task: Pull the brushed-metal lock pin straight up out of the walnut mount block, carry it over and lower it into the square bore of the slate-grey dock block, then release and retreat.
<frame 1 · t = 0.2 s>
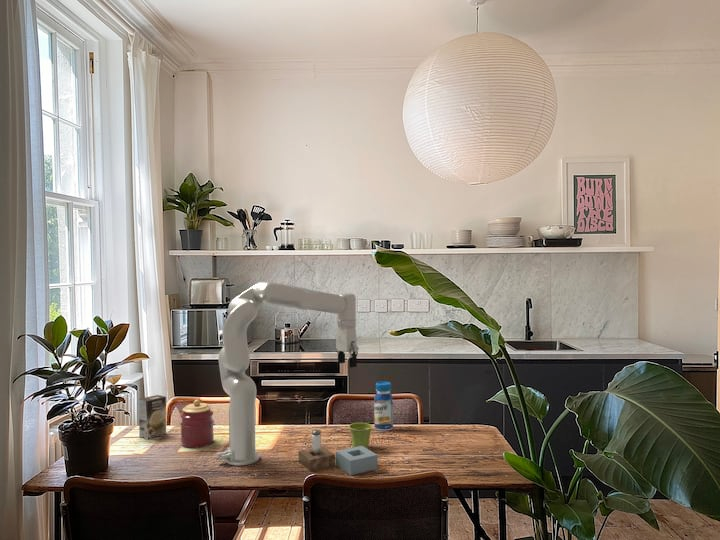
hand: (347, 364, 224), 31 cm above the table, fingers open, 9 cm apart
canister: (197, 443, 222), on the table
coffee box: (153, 435, 232), on the table
pin: (316, 447, 198), in the mount block
mount block: (316, 463, 198), on the table
plant pot: (360, 448, 214), on the table
dock block: (356, 466, 195), on the table
beverage bottle: (383, 428, 238), on the table
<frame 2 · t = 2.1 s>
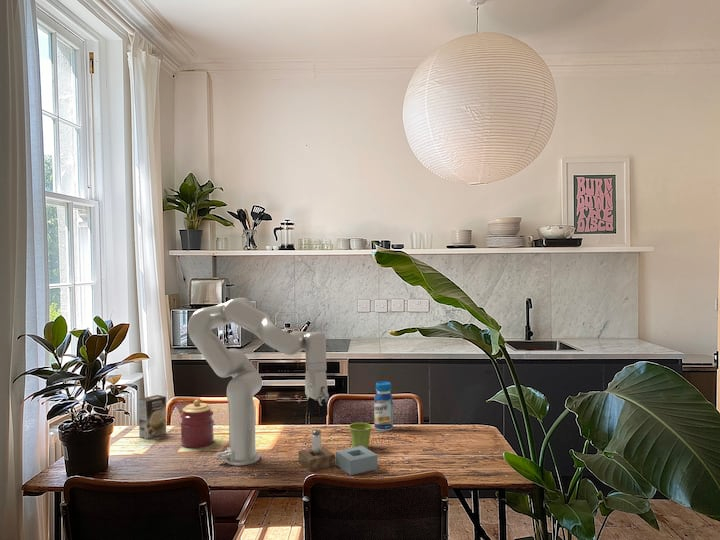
hand: (317, 413, 197), 19 cm above the table, fingers open, 9 cm apart
nothing on the table moved.
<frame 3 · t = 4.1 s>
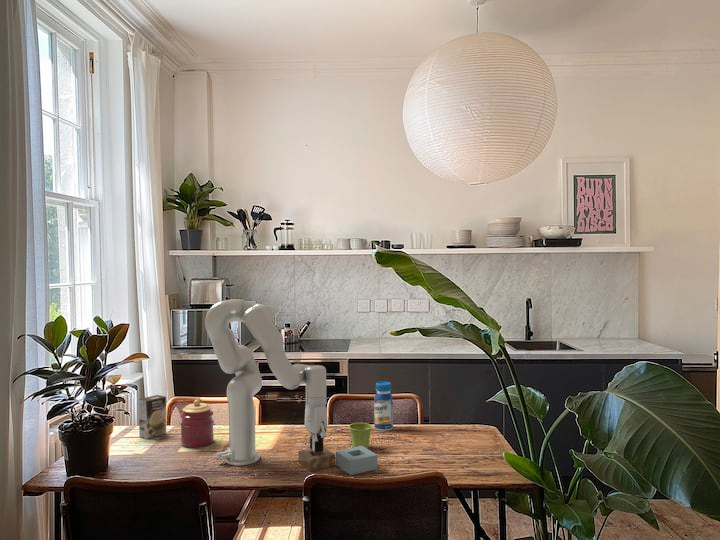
hand: (316, 449, 198), 5 cm above the table, fingers closed on pin, 3 cm apart
pin: (316, 447, 198), in the mount block, touching gripper
everything else where it was.
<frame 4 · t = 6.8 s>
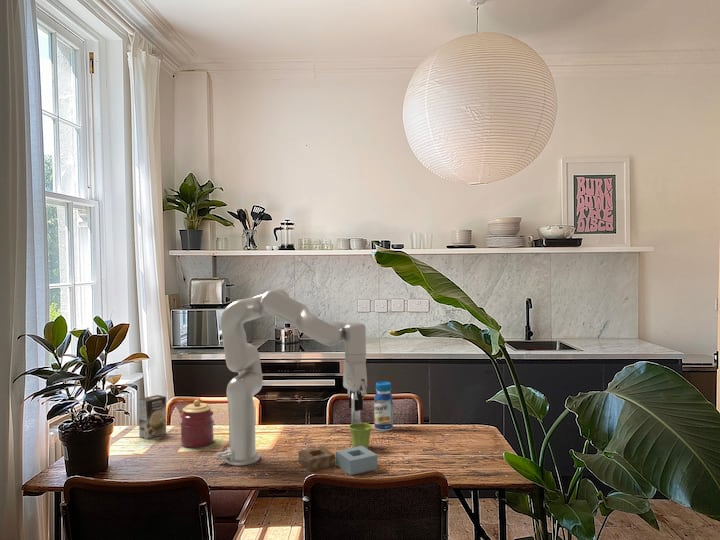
hand: (355, 408, 194), 21 cm above the table, fingers closed on pin, 3 cm apart
pin: (355, 406, 194), point 22 cm above the table, touching gripper
everything else where it was.
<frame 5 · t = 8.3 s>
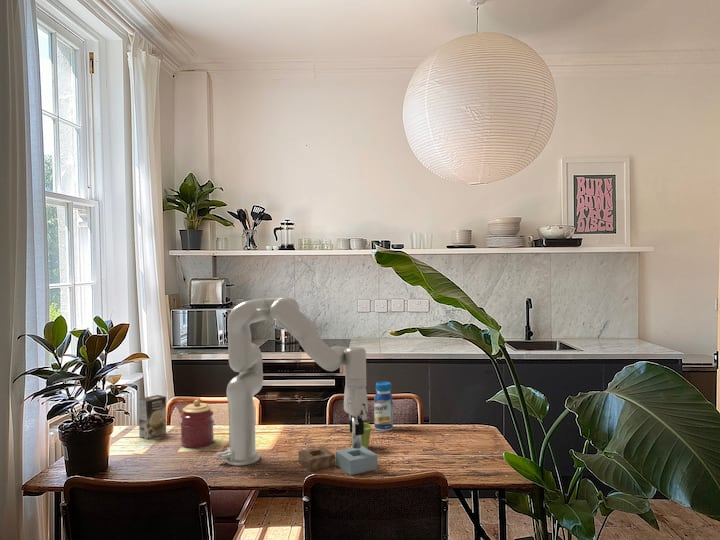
hand: (356, 432, 194), 12 cm above the table, fingers closed on pin, 3 cm apart
pin: (356, 430, 194), point 13 cm above the table, touching gripper
everything else where it was.
when the fingers open (7 cm above the table, at t = 9.6 s): pin drops 1 cm, resting in dock block.
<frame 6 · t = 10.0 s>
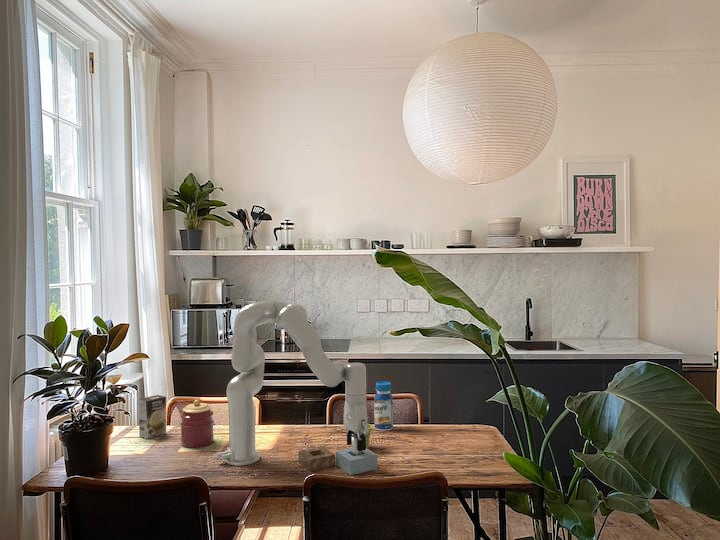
hand: (356, 446, 195), 7 cm above the table, fingers open, 7 cm apart
pin: (356, 450, 195), in the dock block
everything else where it was.
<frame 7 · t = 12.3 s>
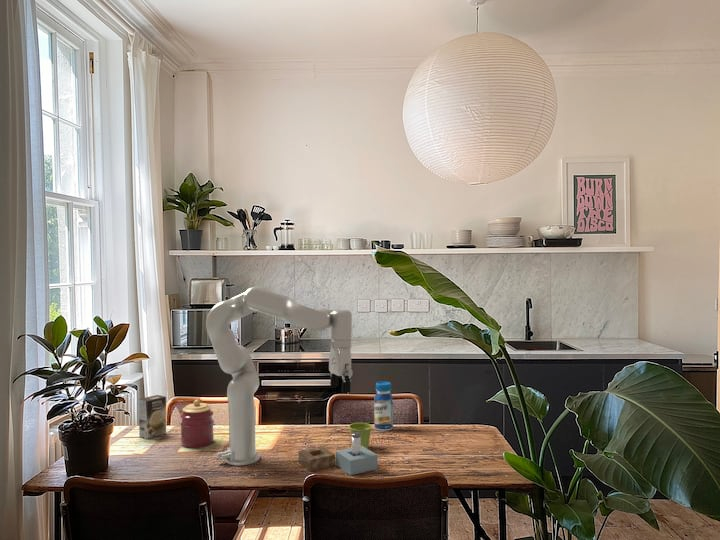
hand: (340, 389, 201), 26 cm above the table, fingers open, 9 cm apart
nothing on the table moved.
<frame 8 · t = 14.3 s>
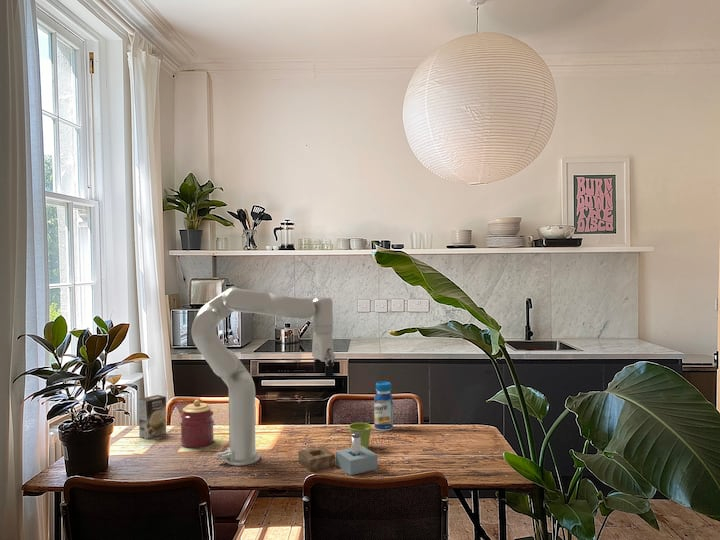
hand: (323, 373, 210), 30 cm above the table, fingers open, 9 cm apart
nothing on the table moved.
at the end: pin 0.0 cm off-centre on the dock block, point 6.0 cm above the dock block's base; pin tilted 0°; the gripper is holding nothing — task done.
